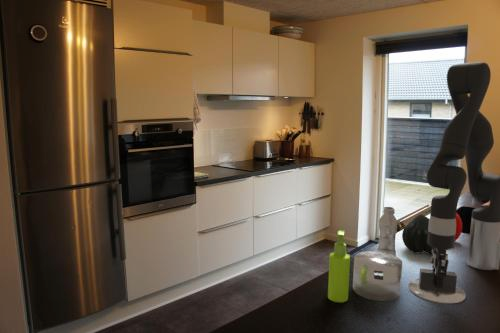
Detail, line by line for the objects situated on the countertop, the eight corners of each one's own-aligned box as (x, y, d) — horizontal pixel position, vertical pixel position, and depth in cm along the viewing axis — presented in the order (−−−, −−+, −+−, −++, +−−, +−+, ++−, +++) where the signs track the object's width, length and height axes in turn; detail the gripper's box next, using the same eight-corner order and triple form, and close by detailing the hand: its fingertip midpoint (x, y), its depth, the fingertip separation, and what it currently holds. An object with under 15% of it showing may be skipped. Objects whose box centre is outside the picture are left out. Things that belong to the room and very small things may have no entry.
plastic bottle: (396, 265, 148) (400, 210, 145) (377, 263, 149) (380, 209, 146) (394, 258, 154) (397, 206, 151) (375, 257, 155) (378, 205, 152)
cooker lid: (459, 284, 134) (460, 265, 133) (471, 307, 118) (473, 286, 117) (406, 278, 138) (407, 259, 137) (411, 300, 122) (413, 279, 121)
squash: (439, 249, 149) (444, 212, 156) (396, 243, 157) (403, 208, 164) (442, 264, 159) (447, 230, 166) (402, 258, 167) (408, 225, 174)
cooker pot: (397, 279, 136) (399, 250, 134) (402, 309, 116) (405, 275, 115) (353, 274, 140) (355, 245, 138) (351, 302, 120) (353, 269, 118)
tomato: (424, 240, 175) (427, 207, 173) (432, 234, 184) (435, 203, 182) (456, 247, 167) (459, 213, 165) (463, 240, 176) (467, 208, 174)
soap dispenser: (349, 293, 125) (352, 229, 122) (346, 303, 119) (350, 236, 116) (329, 290, 127) (332, 227, 124) (326, 300, 121) (329, 234, 118)
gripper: (460, 239, 117) (455, 296, 120) (450, 225, 131) (446, 276, 133) (431, 236, 119) (427, 292, 122) (425, 223, 133) (421, 273, 135)
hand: (437, 283), depth 128 cm, fingers open, 4 cm apart
